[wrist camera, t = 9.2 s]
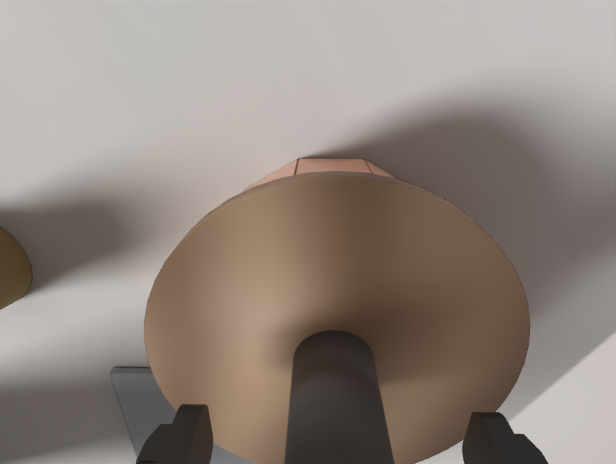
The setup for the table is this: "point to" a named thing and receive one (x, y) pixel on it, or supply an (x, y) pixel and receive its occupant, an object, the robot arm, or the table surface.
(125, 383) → the mat
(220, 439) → the lid
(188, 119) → the table surface
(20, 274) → the cork
